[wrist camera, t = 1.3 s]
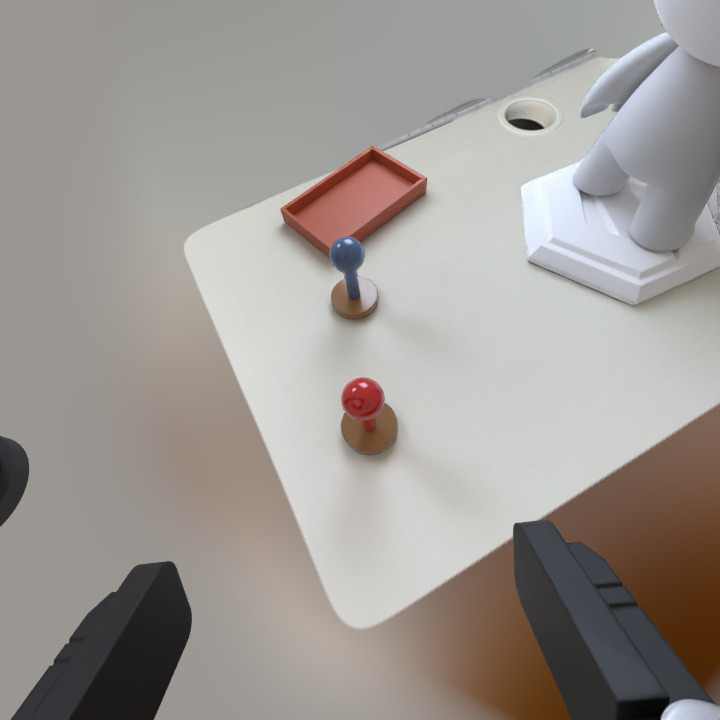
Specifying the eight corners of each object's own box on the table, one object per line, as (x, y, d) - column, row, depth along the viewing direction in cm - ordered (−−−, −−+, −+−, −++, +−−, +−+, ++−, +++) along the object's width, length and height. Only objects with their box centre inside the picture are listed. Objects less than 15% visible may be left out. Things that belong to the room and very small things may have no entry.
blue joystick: (353, 327, 42) (342, 273, 34) (323, 300, 44) (305, 243, 36) (388, 299, 44) (384, 240, 36) (356, 274, 46) (347, 213, 38)
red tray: (334, 261, 47) (331, 249, 45) (284, 221, 51) (280, 208, 49) (426, 191, 51) (427, 177, 49) (373, 159, 55) (372, 145, 53)
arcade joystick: (368, 466, 35) (358, 439, 27) (331, 427, 37) (312, 390, 29) (408, 428, 37) (410, 390, 29) (370, 391, 39) (362, 347, 31)
